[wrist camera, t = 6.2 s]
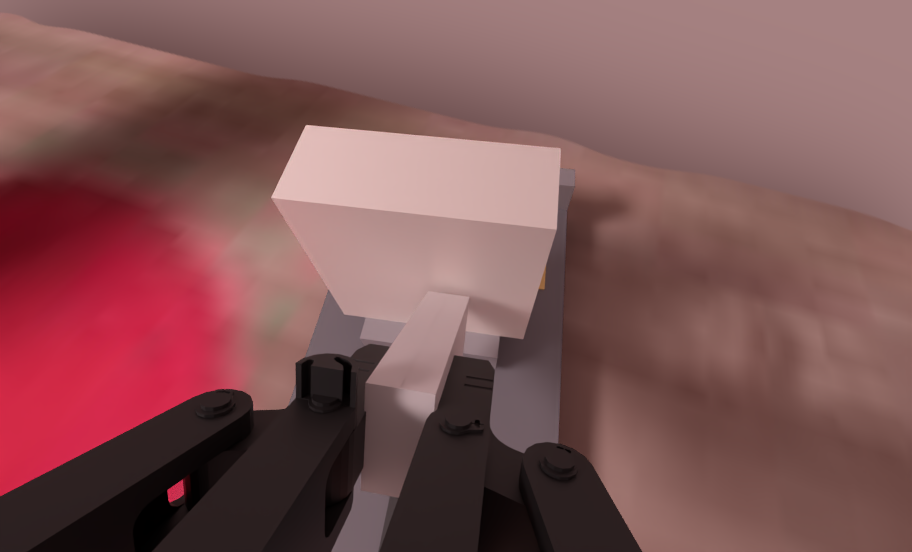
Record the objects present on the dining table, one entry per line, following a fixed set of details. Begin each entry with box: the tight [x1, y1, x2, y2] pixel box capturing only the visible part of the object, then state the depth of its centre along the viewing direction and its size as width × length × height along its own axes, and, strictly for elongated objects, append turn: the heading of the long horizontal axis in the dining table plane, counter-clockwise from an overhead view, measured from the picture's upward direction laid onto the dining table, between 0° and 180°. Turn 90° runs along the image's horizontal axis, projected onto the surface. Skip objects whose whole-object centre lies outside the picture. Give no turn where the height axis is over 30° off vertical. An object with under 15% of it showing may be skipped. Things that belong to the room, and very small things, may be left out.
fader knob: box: [271, 125, 561, 369], centre depth 16 cm, size 5×8×10 cm, turn 81°
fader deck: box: [288, 168, 575, 552], centre depth 19 cm, size 26×12×4 cm, turn 171°
